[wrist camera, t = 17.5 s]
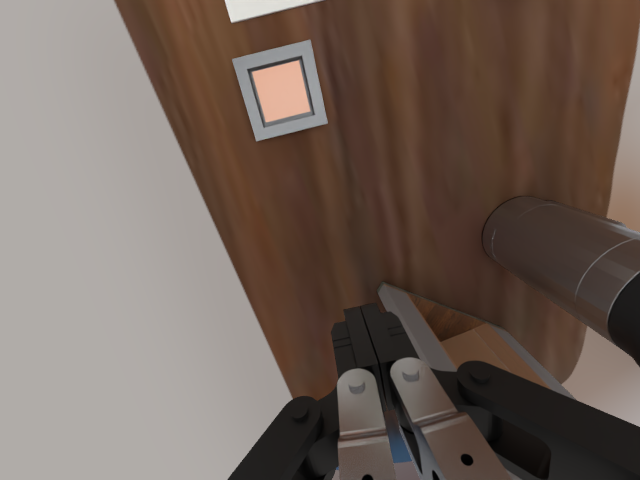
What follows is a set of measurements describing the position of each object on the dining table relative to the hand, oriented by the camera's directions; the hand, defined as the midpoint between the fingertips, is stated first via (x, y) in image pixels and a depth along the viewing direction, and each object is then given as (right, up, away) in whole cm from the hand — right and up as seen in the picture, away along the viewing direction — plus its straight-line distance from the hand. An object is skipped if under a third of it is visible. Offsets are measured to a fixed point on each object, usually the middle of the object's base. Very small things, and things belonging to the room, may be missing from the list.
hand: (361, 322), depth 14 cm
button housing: (-6, +19, +18) cm, 27 cm away
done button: (-5, +18, +16) cm, 25 cm away
